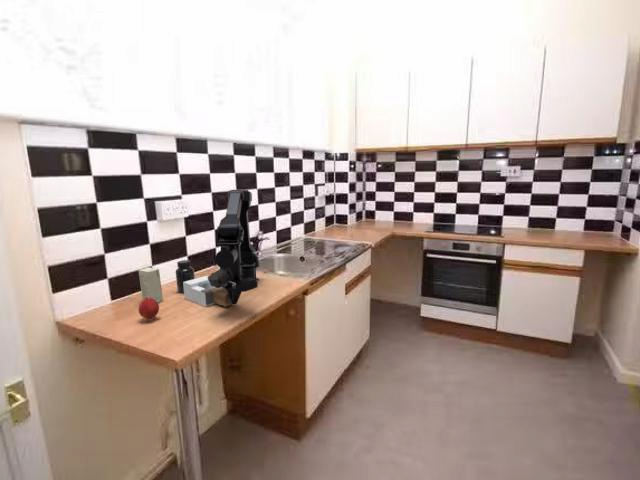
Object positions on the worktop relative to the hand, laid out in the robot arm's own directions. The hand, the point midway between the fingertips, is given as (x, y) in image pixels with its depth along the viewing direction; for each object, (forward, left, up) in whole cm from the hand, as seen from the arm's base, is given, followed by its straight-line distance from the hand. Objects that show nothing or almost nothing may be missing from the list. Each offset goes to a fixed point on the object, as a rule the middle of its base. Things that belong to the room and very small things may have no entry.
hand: (234, 304), depth 115 cm
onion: (+22, -14, -2) cm, 26 cm away
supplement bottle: (0, -30, -2) cm, 30 cm away
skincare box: (+14, -29, -2) cm, 33 cm away
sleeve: (0, -16, -2) cm, 16 cm away
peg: (0, -7, -1) cm, 7 cm away
